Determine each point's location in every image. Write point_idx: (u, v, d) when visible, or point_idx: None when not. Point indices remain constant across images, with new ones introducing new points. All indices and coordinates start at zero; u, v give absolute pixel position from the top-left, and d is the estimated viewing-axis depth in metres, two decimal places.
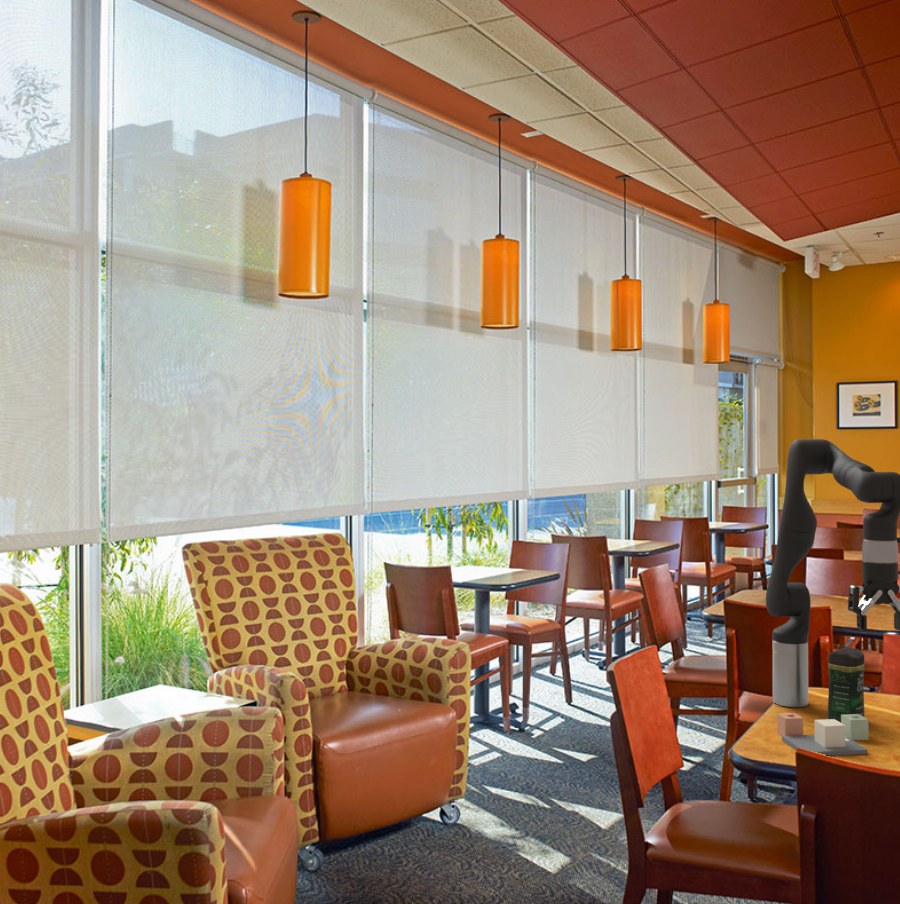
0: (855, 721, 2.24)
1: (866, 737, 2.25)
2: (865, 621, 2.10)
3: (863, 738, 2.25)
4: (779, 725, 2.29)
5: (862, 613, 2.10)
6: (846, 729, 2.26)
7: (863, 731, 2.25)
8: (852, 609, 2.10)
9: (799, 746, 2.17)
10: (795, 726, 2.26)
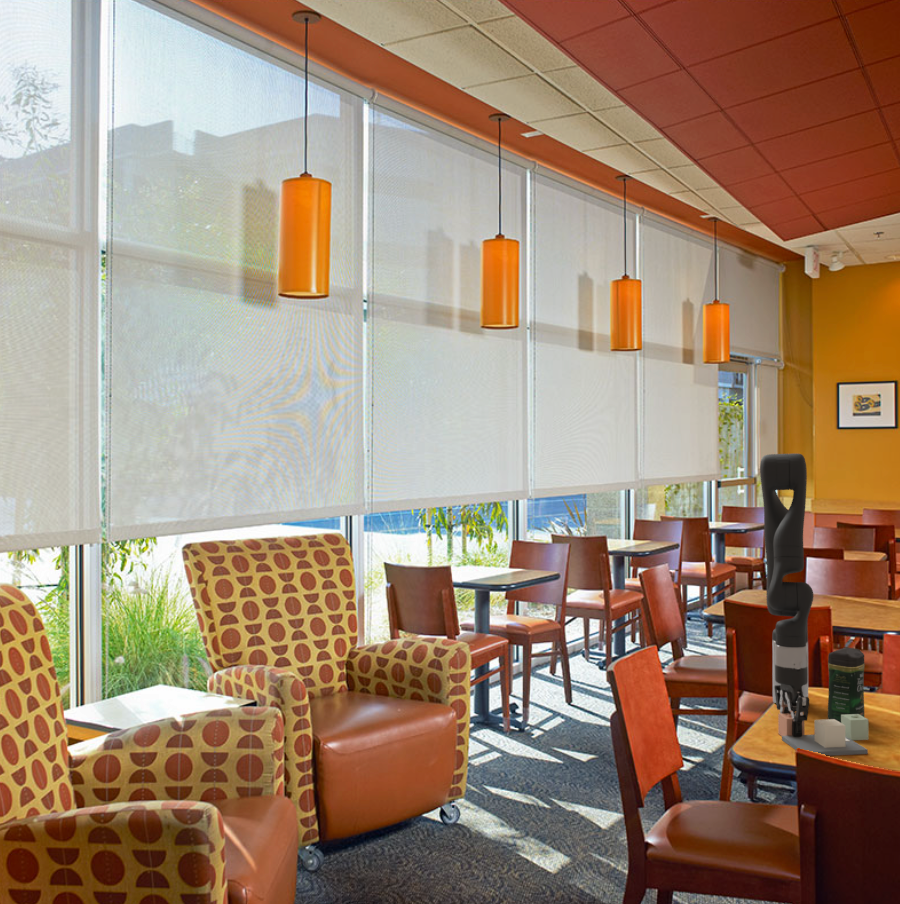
0: (855, 721, 2.24)
1: (866, 737, 2.25)
2: None
3: (863, 738, 2.25)
4: (780, 725, 2.29)
5: None
6: (846, 729, 2.26)
7: (863, 731, 2.25)
8: (805, 718, 2.22)
9: (799, 746, 2.17)
10: None
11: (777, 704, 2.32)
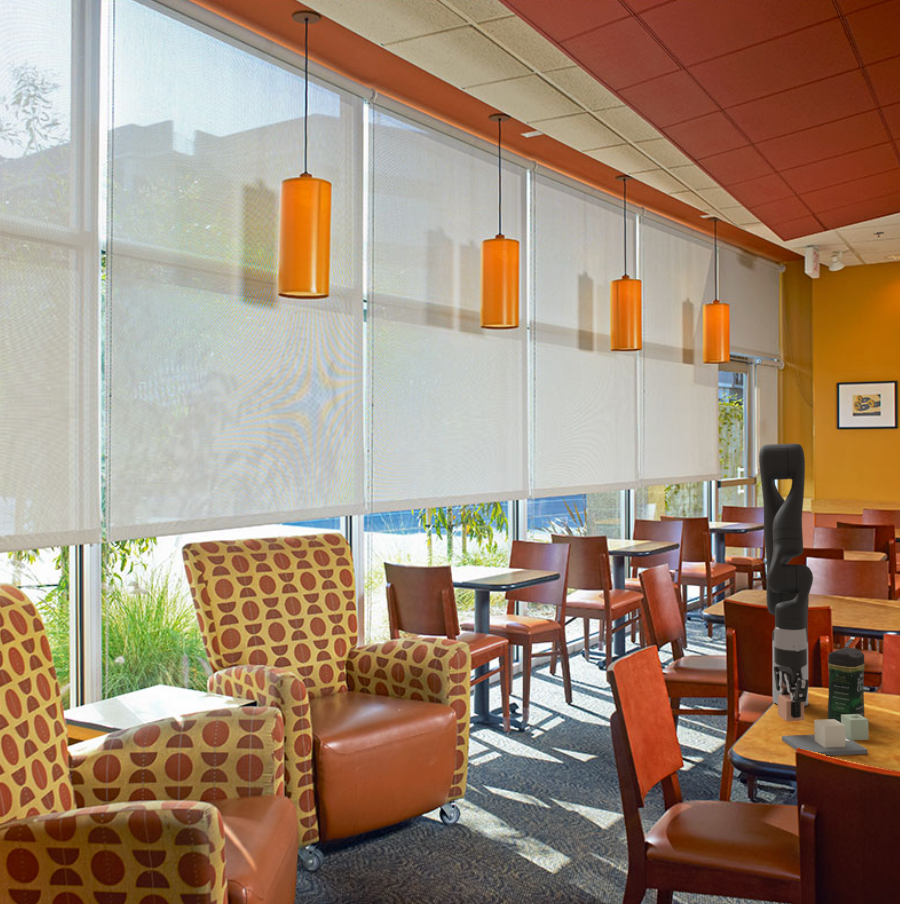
0: (855, 721, 2.24)
1: (866, 737, 2.25)
2: None
3: (863, 738, 2.25)
4: (780, 707, 2.30)
5: None
6: (846, 729, 2.26)
7: (863, 731, 2.25)
8: (804, 700, 2.23)
9: (799, 746, 2.17)
10: None
11: (776, 685, 2.33)
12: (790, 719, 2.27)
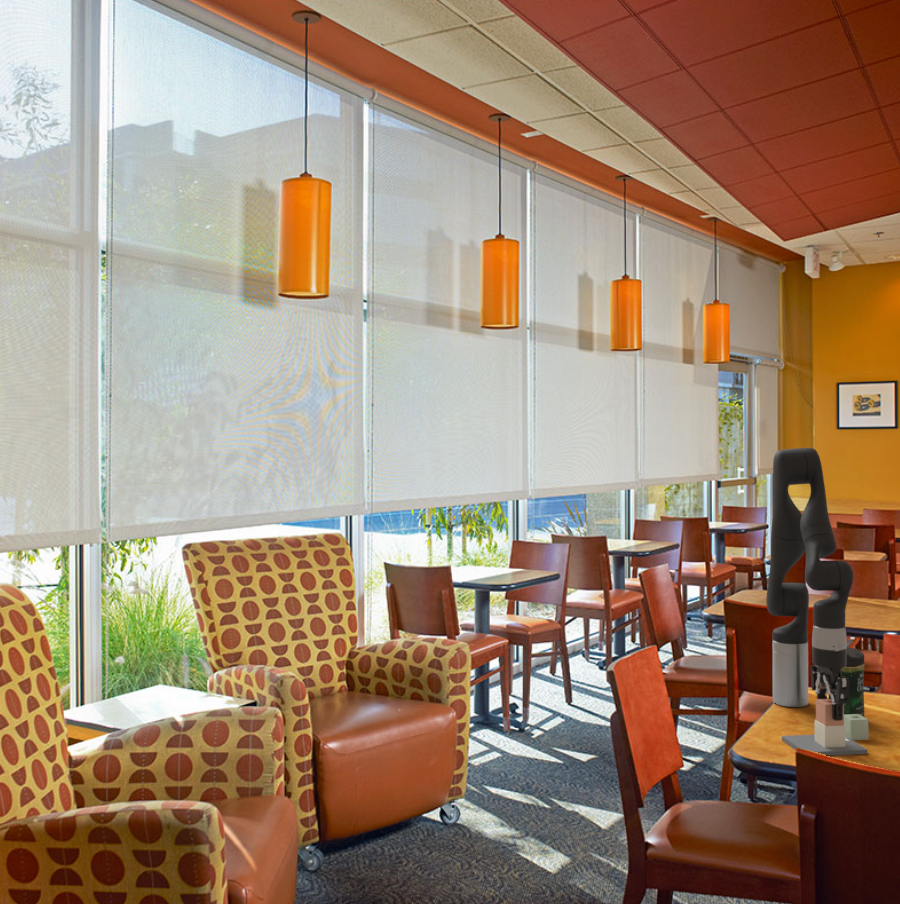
0: (855, 721, 2.24)
1: (866, 737, 2.25)
2: None
3: (863, 738, 2.25)
4: (818, 711, 2.20)
5: None
6: (846, 729, 2.26)
7: (863, 731, 2.25)
8: (846, 701, 2.12)
9: (799, 746, 2.17)
10: None
11: (812, 684, 2.24)
12: (829, 724, 2.16)
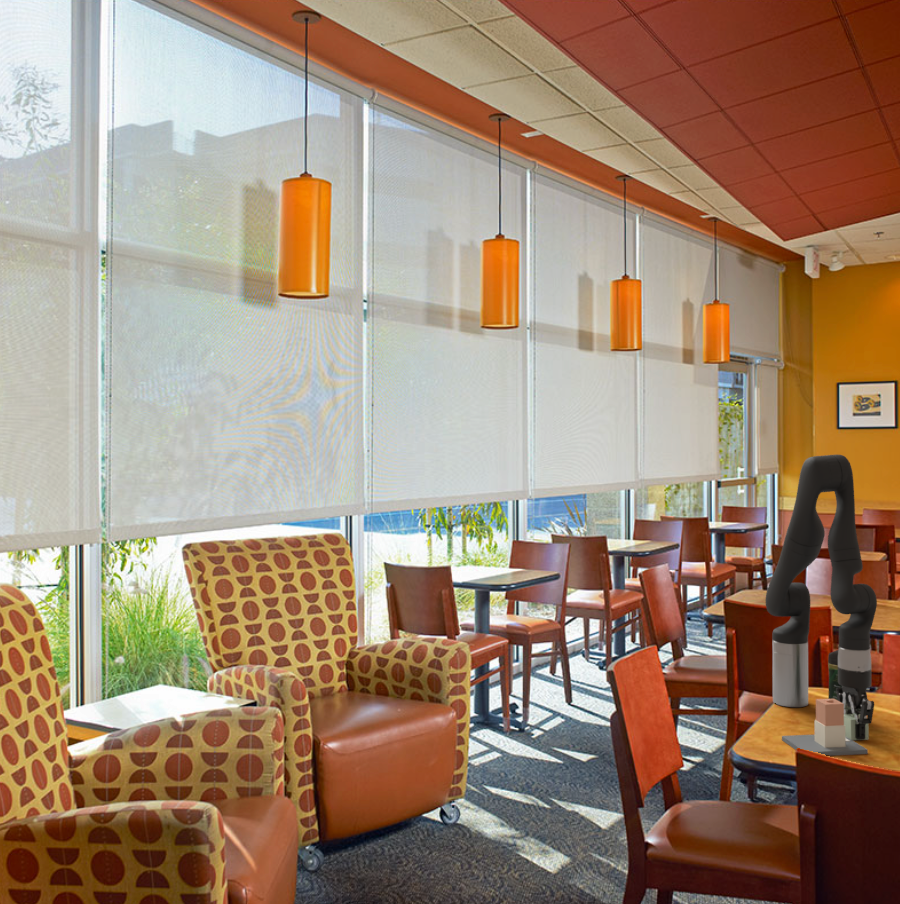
0: None
1: (866, 737, 2.25)
2: None
3: None
4: (818, 711, 2.20)
5: None
6: (846, 729, 2.26)
7: None
8: (869, 722, 2.21)
9: (799, 746, 2.17)
10: (835, 712, 2.17)
11: None
12: (829, 724, 2.16)
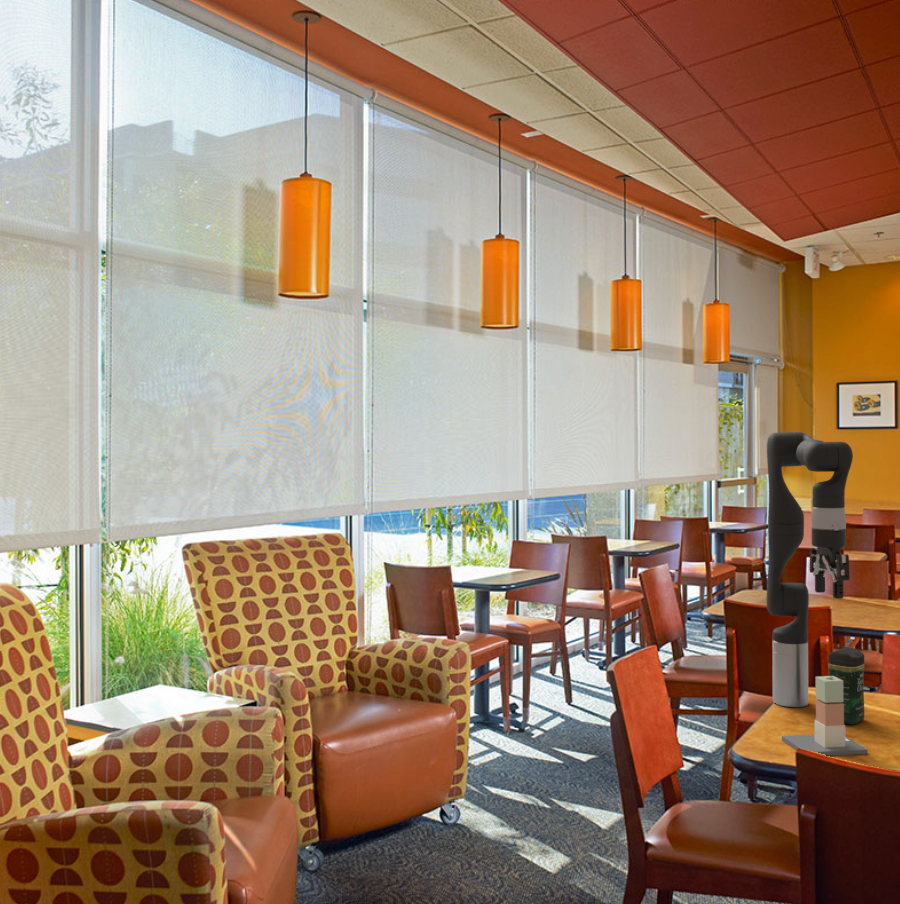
0: (830, 682, 2.16)
1: (841, 699, 2.17)
2: None
3: (838, 700, 2.17)
4: (818, 711, 2.20)
5: None
6: (820, 691, 2.18)
7: (838, 693, 2.17)
8: (847, 577, 2.11)
9: (799, 746, 2.17)
10: (835, 712, 2.17)
11: (810, 567, 2.25)
12: (829, 724, 2.16)
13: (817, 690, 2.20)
